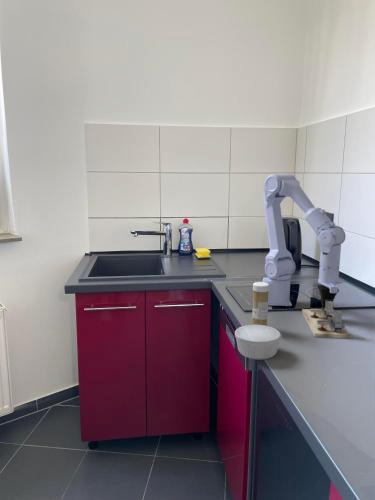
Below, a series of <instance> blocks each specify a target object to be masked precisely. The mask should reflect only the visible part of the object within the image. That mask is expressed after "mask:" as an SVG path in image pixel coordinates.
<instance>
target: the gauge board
mask: <svg viewBox="0 0 375 500" xmlns="http://www.w3.org/2000/svg"><path fill="white" fill-rule="evenodd" d="M310 309H311V308H310ZM310 309H309V308H308V309H307V308H306V309H305V308H302V309H301V313H302V315H303V316H304V319H305V320H306V322H307V325H308V326H309V328H310V330H311V332H312V334H313V336H314V338H331V339H332V338H336V339H349V336H350V335H349V333H348V331H347V330H346V329H345V330H344V331H341V329H340V328H335V331H331V329H330V328H329V325H323V329H321V324H317V320H321V321H330V320H333V318H332V316H331V315H326V318H323V317H322V315H321V313H318V312H316V317H314V312H311V311H310Z"/></svg>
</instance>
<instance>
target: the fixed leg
mask: <svg viewBox="0 0 375 500" xmlns="http://www.w3.org/2000/svg"><path fill="white" fill-rule="evenodd" d="M342 317H343V311H341V310H335V309H334V314H333V320H330V321H321V320H317V324H321V329H323V325H329V328H330V329H331V331H335V328H340V329H341V331H344V330H346V329H345V326H346V323H345V322H344V320H343V319H342Z"/></svg>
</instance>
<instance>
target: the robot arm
mask: <svg viewBox="0 0 375 500" xmlns="http://www.w3.org/2000/svg"><path fill="white" fill-rule="evenodd" d="M300 182H301V181H299V180H298V179H297V178H296V176H295V175H294V174H289V173H287V174H275V173H274V174H273V173H272V174H269V175H268V176H267V177H266V179H265V180H264V182H263V183H262V185H263V199H262V203H263V210H264V211H263V212H264V218H265V225H266V233H267V239H268V244H269V252H268V253H267V255H266V256H265V259H264V260H265V263H264V264H265V265H264V272H265V274H266V277H263V278H262V282H265V283H268V284H269V292H268V306H278V307H279V306H280V307H281V306H283V307H291V306H292V302H291V300H290V295H291V294H290V293H291V292H290V291H291V279H292V275H293V274H294V273H295V271H296V262H295V261H294V259H293V255H292V252H290V251H289V250H288V249H287V245H286V237H285V231H284V225H283V223H284V222H283V216H282V208H281V204H282V202H283V201H284V200H285V199H286V198H290V199H291V200H292V201H293V202H294V203H295V204H296V205H297V207H298V208H300V210H301V211H302V212H303V213H304V214H305V218H304V219H305V221H306V222H307V224H308V225H309V226H310V228H311V229H312V230H313V232H314V233H315V234H316V235H317V236H316V239H317V242H318V244H319V250H320V251H319V252H320V253H319V254H320V256H319V268H318V269H319V271H318V279H317V284H318V285H317V286H316V287H317V289H318V291H319V294H320V300H321V306H322V307H321V308H325V299H329V300H332V301H333V302H334V300H335V298H336V296H337V294H338V293H340V290H339V284H343V280H341V279H339V277H340V264H341V249H342V244H343V243H345V240H346V237H347V236H346V232H345V230H344V229H343V228H342V226H339V225H336V223H335V222H333V221H332V220H331V219H330V218H329V216H328V215H327V214H326V213H327V212H326V210H325V209H322V208H321V207H316V206H315V205H314V203H312V201H311V200H310V198H309V196H308V195H307V194H306V193H305V191H304V189H303V188H302V187H301V183H300Z"/></svg>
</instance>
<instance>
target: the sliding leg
mask: <svg viewBox="0 0 375 500" xmlns="http://www.w3.org/2000/svg"><path fill="white" fill-rule="evenodd" d="M333 305H334V300H333V301H332V300H329V299H325V308H323V307H321V308H310V311H311V312H314V317H316V312H318V313H321V315H322V317H323V318H326V315H331V316H332V318H333V314H334V310H335V309H334V308H333V307H334V306H333Z"/></svg>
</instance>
